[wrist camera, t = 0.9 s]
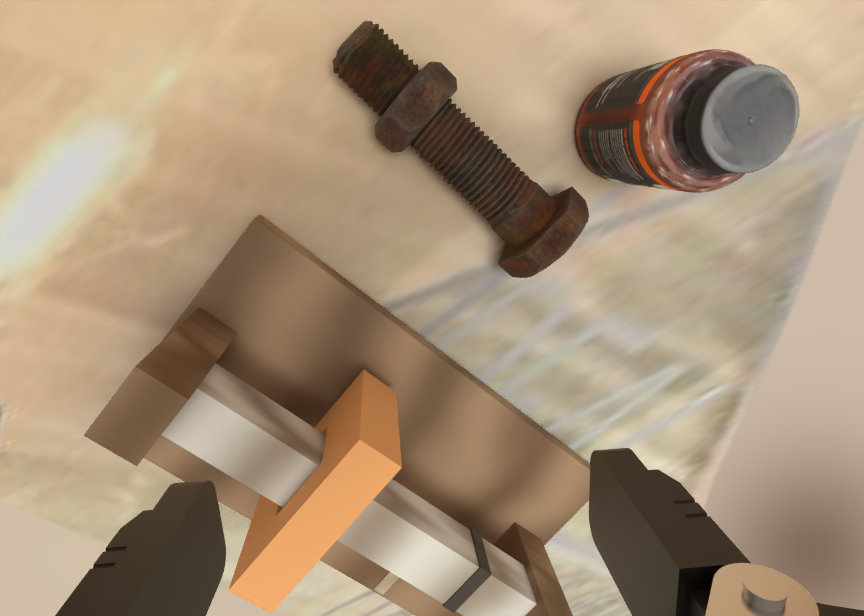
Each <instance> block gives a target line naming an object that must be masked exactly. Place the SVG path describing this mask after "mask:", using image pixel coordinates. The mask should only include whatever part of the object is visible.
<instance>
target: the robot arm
mask: <svg viewBox="0 0 864 616" xmlns="http://www.w3.org/2000/svg"><path fill="white" fill-rule="evenodd" d="M589 522H590V528H591V533H592V536H593V540H594V542H595V545H596V547H597V549H598V551H599V552H600V554H601V556H602V558H603V560H604V562H605V564H606V566H607V568H608V570H609V572H610V574H611V576H612V577H613V579H614V581H615V583H616V585H617V587H618V589H619V591H620V593H621V595H622V597H623V599H624V601H625V602H626V604H627V606H628V608H629V610H630V612H631V614H632V616H864V611H863V610H856V609H850V608H843V607H837V606H830V605H825V604H820V603H816V602H815V601H814V599H813V597H812V596H811V595H810V594H809V593H808V592H807V590H806V589H805V588H803V587H802V586H801V585H800V584H799V583H797V582H796V581H794V580H793V579H792V578H790V577H788V576H786V575H785V574H783V573H780V572H778V571H776V570H773V569H770V568H767V567H765V566H760V565H756V564H751V563H750V562H749V560H748V559H747V558H746V557H745V556H744V555H743V554H742V553H741V551H740V550H739V549H738V548H737V547H736V546H735V545H734V544H733V542H732V541H731V540H730V539H729V538H728V537H727V536H726V534H725V533H724V532H723V531H722V530H721V529H720V528H719V527H718V525H717V524H716V523H715V522H714V521H713V520H712V519H711V518H710V517H707V513H706V512H705V511H704V510H703V508H702V507H701V506H700V505H699V504H698V503H695V501H694V498H693V497H692V496H691V495H690V494H689V493H688V491H687V490H686V489H685V488H684V487H683V486H682V485H681V483H679V482H678V481H676V480H674V479H673V478H671V477H669V476H668V475H666V474H664V473H663V472H661V471H659V470H647V468H646V467H645V466H644V465H643V463H642V462H641V461H640V460H639V459H638V457H637V456H636V455H635V454H634V452H633V451H632V450H631V449H629V448H621V449H608V450H596V451H593V452H592V455H591V460H590V491H589ZM225 559H226V546H225V539H224V533H223V528H222V522H221V517H220V511H219V505H218V500H217V494H216V489H215V486H214V484H213V482H212V481H197V482H184V483H173V484H171V485H170V486H169V488H168V489H167V490H166V492H165V493H164V495H163V496H162V498H161V499H160V500H159V502H158V503H157V505H156V506H155V508H154V509H153V510H147V511H143V512H141V513H140V514H139V515H138V516H136V517H135V518H134V519H132V520H131V521H130V522H128V523H127V524H126V525H124V526H123V527H122V528H121V529H120V530H119V531H118V533H117V534H116V535H115V537H114V538H113V539H112V541H111V542H110V543H109V545H108V546H107V547H106V552H103V553H102V554H101V555H100V557H99V558H98V559H97V561H96V562H95V564H94V567H93V569H90V570H89V571H88V573H87V574H86V575H85V577H84V578H83V579H82V581H81V582H80V583H79V585H78V586H77V587H76V589H75V590H74V591H73V593H72V594H71V595H70V597H69V598H68V599H67V601H66V602H65V603H64V605H63V606H62V607H61V609H60V610H59V611H58V613H57V614H56V615H55V616H206V614H207V611H208V609H209V606H210V604H211V602H212V599H213V597H214V595H215V592H216V590H217V588H218V585H219V583H220V580H221V578H222V575H223V572H224V567H225Z"/></svg>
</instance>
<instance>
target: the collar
mask: <svg viewBox="0 0 864 616" xmlns="http://www.w3.org/2000/svg"><path fill="white" fill-rule="evenodd" d="M314 428H315V429H317V430H318V431H320V432H321V433H323V434H324V435H326V440H325V446H324V452H323V457H322V463H321V465H320V466H319V467H318V468H317V469H316V470H315V472H314V473H313V474H312V475H311V476H310V477H309V478H308V480H307V481H306V482H305V483H304V484H303V485H302V487H301V488H300V489H299V490H298V491H297V492H296V494H295V495H294V496H293V497H292V498H291V499H290V501H289V502H288V503H287V504H286V505H285V506H284V508H283V507H281V506H279V505H278V504H276V503H274V502H273V501H271V500H269V499H268V498H266V497H264V496H263V495H261V494H260V497H259V500H258V503H257V506H256V509H255V512H254V515H253V518H252V521H251V524H250V527H249V530H248V533H247V536H246V539H245V542H244V545H243V548H242V551H241V554H240V557H239V560H238V563H237V566H236V569H235V572H234V575H233V578H232V581H231V584H230V587H229V590H228V591H230V592H232V593H234V594H236V595H238V596H240V597H242V598H243V599H245V600H247V601H249V602H251V603H253V604H255V605H257V606H258V607H260V608H262V609H264V610H266V611H268V612H270V613H272V612H273V611H274V610H275V609H276V607H277V606H278V605H279V604H280V603H281V602H282V601H283V600H284V599H285V597H286V596H287V595H288V594H289V593H290V592H291V591H292V590H293V589H294V587H295V586H296V585H297V584H298V583H299V582H300V581H301V580H302V578H303V577H304V576H305V575H306V574H307V573H308V572H309V571H310V570H311V568H312V567H313V566H314V565H315V564H316V563H317V562H318V561H319V560H320V558H321V557H322V556H323V555H324V554H325V553H326V552H327V551H328V550H329V548H330V547H331V546H332V545H333V544H334V543H335V542H336V541H337V539H338V538H339V537H340V536H341V535H342V534H343V533H344V532H345V531H346V529H347V528H348V527H349V526H350V525H351V524H352V523H353V522H354V521H355V519H356V518H357V517H358V516H359V515H360V514H361V513H362V512H363V510H364V509H365V508H366V507H367V506H368V505H369V504H370V503H371V502H372V500H373V499H374V498H375V497H376V496H377V495H378V494H379V493H380V492H381V490H382V489H383V488H384V487H385V486H386V485H387V484H388V483H389V482H390V480H391V479H392V478H393V477H394V476H395V475H396V474H397V473H398V471H399V470H400V469H401V468H402V461H401V448H400V436H399V423H398V410H397V397H396V392H395V391H394V390H392V389H391V388H390V387H388V386H387V385H385V384H384V383H382V382H381V381H380V380H378V379H377V378H375V377H374V376H373V375H371V374H370V373H368V372H367V371H366V370H363V371H362V372H361V373H360V374H359V375H358V377H357V378H356V379H355V380H354V381H353V383H352V384H351V385H350V386H349V387H348V388H347V390H346V391H345V392H344V393H343V394H342V396H341V397H340V398H339V399H338V400H337V401H336V403H335V404H334V405H333V406H332V407H331V409H330V410H329V411H328V412H327V413H326V414H325V416H324V417H323V418H322V419H321V420H320V422H319V423H318V424H317V425H316V426H315V427H314Z"/></svg>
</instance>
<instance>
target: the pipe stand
mask: <svg viewBox="0 0 864 616" xmlns="http://www.w3.org/2000/svg"><path fill="white" fill-rule="evenodd" d="M363 370H366V371H367V372H368V373H370V374H371V375H373V376H374V377H375V378H377V379H378V380H380V381H381V382H382V383H384V384H385V385H387V386H388V387H390V388H391V389H392V390H394V391H395V392H396V397H397V410H398V423H399V436H400V448H401V461H402V468H401V469H400V470H399V471H398V473H397V474H396V475H395V476H394V477H393V478H392V479H391V480H390V482H389V483H388V484H387V485H386V486H385V487H384V488H383V489H382V490H381V492H380V493H379V494H378V495H377V496H376V497H375V498H374V499H373V500H372V502H371V503H370V504H369V505H368V506H367V507H366V508H365V509H364V510H363V512H362V513H361V514H360V515H359V516H358V517H357V518H356V519H355V521H354V522H353V523H352V524H351V525H350V526H349V527H348V528H347V529H346V531H345V532H344V533H343V534H342V535H341V536H340V537H339V538H338V539H337V541H336V542H335V543H334V544H333V545H332V546H331V547H330V548H329V550H328V551H327V552H326V553H325V554H324V555H323V556H322V557H321V558H320V560H321V561H323V562H324V563H326V564H328V565H330V566H331V567H333V568H335V569H336V570H338V571H340V572H342V573H343V574H345V575H347V576H348V577H350V578H352V579H354V580H355V581H357V582H359V583H361V584H362V585H364V586H366V587H367V588H369V589H371V590H373V591H374V592H376V593H378V594H379V595H381V596H383V597H385V598H386V599H388V600H390V601H392V602H393V603H395V604H397V605H398V606H400V607H402V608H404V609H405V610H407V611H409V612H410V613H412V614H414V615H416V616H573V615H572V613H571V610H570V608H569V606H568V603H567V601H566V598H565V596H564V593H563V591H562V589H561V586H560V584H559V581H558V579H557V577H556V574H555V572H554V569H553V567H552V565H551V562H550V560H549V557H548V555H547V552H546V550H545V548H544V545H545V544H546V543H547V542H548V541H549V540H550V539H551V538H552V537H553V536H554V535H555V534H556V533H557V532H558V531H559V530H560V529H561V528H562V527H563V526H564V525H565V524H566V523H567V522H568V521H569V520H570V519H571V518H572V517H573V516H574V515H575V514H576V513H577V511H578V510H579V509H580V508H581V507H582V506H583V505H584V504H585V503H586V502H587V501H588V500H589V491H590V464H589V463H588V462H587V461H585V460H584V459H583V458H581V457H580V456H579V455H578V454H576V453H575V452H574V451H572V450H571V449H570V448H568V447H567V446H566V445H564V444H563V443H562V442H560V441H559V440H558V439H556V438H555V437H554V436H552V435H551V434H550V433H548V432H547V431H546V430H544V429H543V428H542V427H540V426H539V425H538V424H536V423H535V422H534V421H532V420H531V419H530V418H529V417H527V416H526V415H525V414H523V413H522V412H521V411H519V410H518V409H517V408H515V407H514V406H513V405H511V404H510V403H509V402H507V401H506V400H505V399H503V398H502V397H501V396H499V395H498V394H497V393H495V392H494V391H493V390H491V389H490V388H489V387H487V386H486V385H485V384H484V383H482V382H481V381H480V380H478V379H477V378H476V377H474V376H473V375H472V374H470V373H469V372H468V371H466V370H465V369H464V368H462V367H461V366H460V365H458V364H457V363H456V362H454V361H453V360H452V359H450V358H449V357H448V356H446V355H445V354H444V353H442V352H441V351H440V350H439V349H437V348H436V347H435V346H433V345H432V344H431V343H429V342H428V341H427V340H425V339H424V338H423V337H421V336H420V335H419V334H417V333H416V332H415V331H413V330H412V329H411V328H409V327H408V326H407V325H405V324H404V323H403V322H401V321H400V320H399V319H397V318H396V317H395V316H393V315H392V314H391V313H390V312H388V311H387V310H386V309H384V308H383V307H382V306H380V305H379V304H378V303H376V302H375V301H374V300H372V299H371V298H370V297H368V296H367V295H366V294H364V293H363V292H362V291H360V290H359V289H358V288H356V287H355V286H354V285H352V284H351V283H350V282H348V281H347V280H346V279H345V278H343V277H342V276H341V275H339V274H338V273H337V272H335V271H334V270H333V269H331V268H330V267H329V266H327V265H326V264H325V263H323V262H322V261H321V260H319V259H318V258H317V257H315V256H314V255H313V254H311V253H310V252H309V251H307V250H306V249H305V248H303V247H302V246H301V245H300V244H298V243H297V242H296V241H294V240H293V239H292V238H290V237H289V236H288V235H286V234H285V233H284V232H282V231H281V230H280V229H278V228H277V227H276V226H274V225H273V224H272V223H270V222H269V221H268V220H266V219H265V218H264V217H262V216H261V215H259V216H258V217H256V218H255V219H254V220H253V221H252V223H251V224H250V225H249V227H248V228H247V229H246V231H245V232H244V233H243V234H242V236H241V237H240V238H239V240H238V241H237V242H236V244H235V245H234V246H233V248H232V249H231V250H230V252H229V253H228V254H227V256H226V257H225V258H224V260H223V261H222V262H221V264H220V265H219V266H218V268H217V269H216V270H215V272H214V273H213V274H212V276H211V277H210V278H209V280H208V281H207V282H206V284H205V285H204V286H203V288H202V289H201V290H200V292H199V293H198V294H197V296H196V297H195V298H194V300H193V301H192V302H191V303H190V305H189V306H188V307H187V309H186V310H185V311H184V313H183V314H182V315H181V317H180V318H179V319H178V321H177V322H176V323H175V325H174V326H173V327H172V329H171V330H170V331H169V333H168V334H167V335H166V337H165V338H164V339H163V341H162V342H161V343H160V344H159V345H158V346H157V347H156V348H155V349H154V350H153V351H152V352H151V353H149V354H148V355H147V356H146V357H145V358H144V359H143V360H142V361H141V362H140V363H139V364H138V365H137V366H135V368H134V369H133V370H132V372H131V373H130V374H129V376H128V377H127V378H126V380H125V381H124V382H123V384H122V385H121V386H120V388H119V389H118V390H117V392H116V393H115V394H114V396H113V397H112V398H111V400H110V401H109V402H108V404H107V405H106V406H105V408H104V409H103V410H102V412H101V413H100V414H99V416H98V417H97V418H96V420H95V421H94V422H93V424H92V425H91V426H90V428H89V429H88V430H87V432H86V433H85V434H84V436H85V437H87V438H89V439H91V440H92V441H94V442H96V443H98V444H99V445H101V446H103V447H105V448H106V449H108V450H110V451H112V452H113V453H115V454H117V455H118V456H120V457H122V458H124V459H125V460H127V461H129V462H131V463H132V464H134V465H136V466H137V465H138V464H139V463H140V461H141V460H142V459H143V457H144V458H145V459H147V460H149V461H150V462H152V463H154V464H156V465H157V466H159V467H161V468H163V469H164V470H166V471H168V472H169V473H171V474H173V475H175V476H176V477H178V478H180V479H181V480H183V481H185V482H197V481H212V482H213V484H214V486H215V489H216V494H217V500H218V501H219V502H221V503H223V504H225V505H226V506H228V507H230V508H231V509H233V510H235V511H237V512H238V513H240V514H242V515H243V516H245V517H247V518H249V519H250V520H252V518H253V515H254V512H255V509H256V506H257V503H258V500H259V497H260V494H261V495H263V496H264V497H266V498H268V499H269V500H271V501H273V502H274V503H276V504H278V505H279V506H281V507H283V508H284V506H285V505H286V504H287V503H288V502H289V501H290V499H291V498H292V497H293V496H294V495H295V494H296V492H297V491H298V490H299V489H300V488H301V487H302V485H303V484H304V483H305V482H306V481H307V480H308V478H309V477H310V476H311V475H312V474H313V473H314V472H315V470H316V469H317V468H318V467H319V466H320V465H321V463H322V457H323V452H324V446H325V440H326V435H324V434H323V433H321V432H320V431H318V430H317V429H315V428H314V427H315V426H316V425H317V424H318V423H319V422H320V420H321V419H322V418H323V417H324V416H325V414H326V413H327V412H328V411H329V410H330V409H331V407H332V406H333V405H334V404H335V403H336V401H337V400H338V399H339V398H340V397H341V396H342V394H343V393H344V392H345V391H346V390H347V388H348V387H349V386H350V385H351V384H352V383H353V381H354V380H355V379H356V378H357V377H358V375H359V374H360V373H361V372H362V371H363Z"/></svg>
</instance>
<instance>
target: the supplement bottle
mask: <svg viewBox="0 0 864 616" xmlns="http://www.w3.org/2000/svg"><path fill="white" fill-rule="evenodd" d="M798 118H799V101H798V95H797V93H796V90H795V88H794V86H793V85H792V83H791V81H790V80H789V79H788V77H787V76H786V75H785V74H783V73H782V72H780V71H779V70H777V69H776V68H774V67H770V66H766V65H756V64H755V63H753V62H752V61H751V60H750V59H749V58H747V57H745V56H743V55H741V54H738V53H735V52H732V51H727V50H719V49H714V50H705V51H700V52H696V53H692V54H688V55H684V56H680V57H677V58H674V59H671V60H667V61H664V62H660V63H657V64H654V65H650V66H647V67H643V68H640V69H636V70H633V71H630V72H626V73H623V74H620V75H617V76H615V77H613V78H611V79H608V80H607V81H605V82H604V83H602V84H601V85H600V86H598V87H597V88H596V89H595V90H594V91H593V92H592V93H591V94H590V95H589V97H588V98H587V100H586V101H585V103H584V105H583V107H582V109H581V112H580V115H579V118H578V122H577V130H576V138H577V144H578V148H579V151H580V154H581V156H582V158H583V160H584V162H585V163H586V165H587V166H588V167H589V168H590V169H591V170H592V171H593V172H594V173H596V174H597V175H599V176H601V177H603V178H605V179H607V180H611V181H614V182H619V183H626V184H633V185H640V186H648V187H655V188H662V189H669V190H676V191H684V192H707V191H712V190H715V189H719V188H722V187H725V186H727V185H729V184H732V183H733V182H735V181H737V180H738V179H740V178H741V177H742V176H743V175H744V174H746V173H750V172H754V171H758V170H760V169H762V168H764V167H766V166H768V165H769V164H771V163H772V162H774V161H775V160H776V159H777V158H779V156H780V155H781V154H782V153H783V152H784V151H785V149H786V148H787V147H788V145H789V144H790V142H791V140H792V138H793V136H794V134H795V131H796V128H797V124H798Z"/></svg>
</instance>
